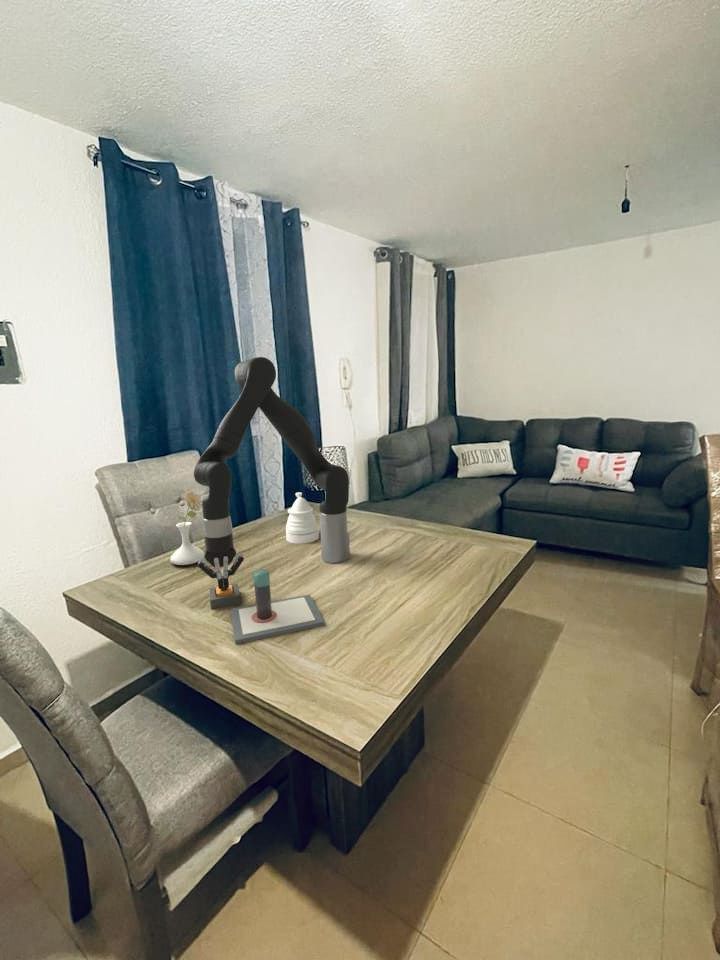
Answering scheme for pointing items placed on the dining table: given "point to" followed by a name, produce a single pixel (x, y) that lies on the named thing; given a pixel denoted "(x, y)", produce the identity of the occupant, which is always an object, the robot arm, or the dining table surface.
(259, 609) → the marker
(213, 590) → the button housing
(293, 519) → the honey pot
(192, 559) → the flower in vase
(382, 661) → the dining table surface
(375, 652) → the dining table surface
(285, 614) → the drawing board
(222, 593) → the button
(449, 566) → the dining table surface
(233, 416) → the robot arm
